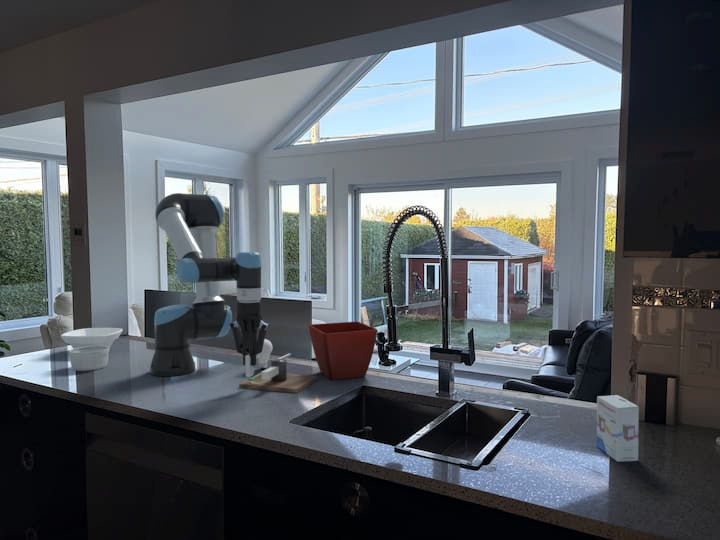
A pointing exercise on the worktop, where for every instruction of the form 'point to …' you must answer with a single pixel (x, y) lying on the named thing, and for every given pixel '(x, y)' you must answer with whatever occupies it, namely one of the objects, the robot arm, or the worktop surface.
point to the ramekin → (89, 357)
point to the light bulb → (265, 354)
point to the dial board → (279, 383)
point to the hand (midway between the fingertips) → (249, 375)
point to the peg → (276, 369)
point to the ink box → (617, 427)
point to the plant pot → (343, 348)
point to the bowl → (91, 337)
